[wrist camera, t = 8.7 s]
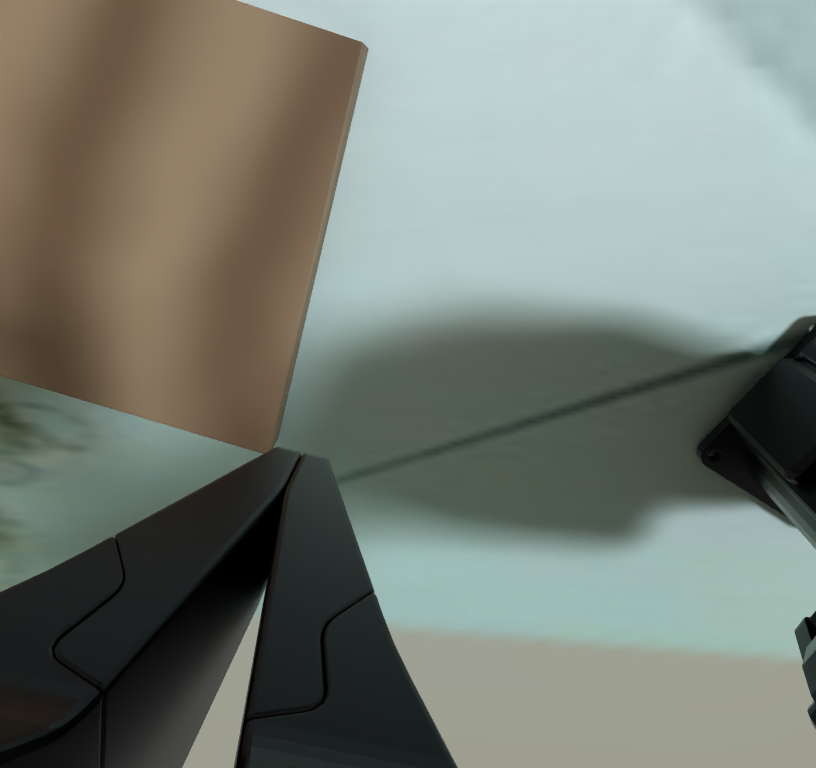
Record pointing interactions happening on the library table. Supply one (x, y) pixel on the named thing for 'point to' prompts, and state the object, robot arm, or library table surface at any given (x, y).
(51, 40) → the board
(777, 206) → the library table surface
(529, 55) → the library table surface
